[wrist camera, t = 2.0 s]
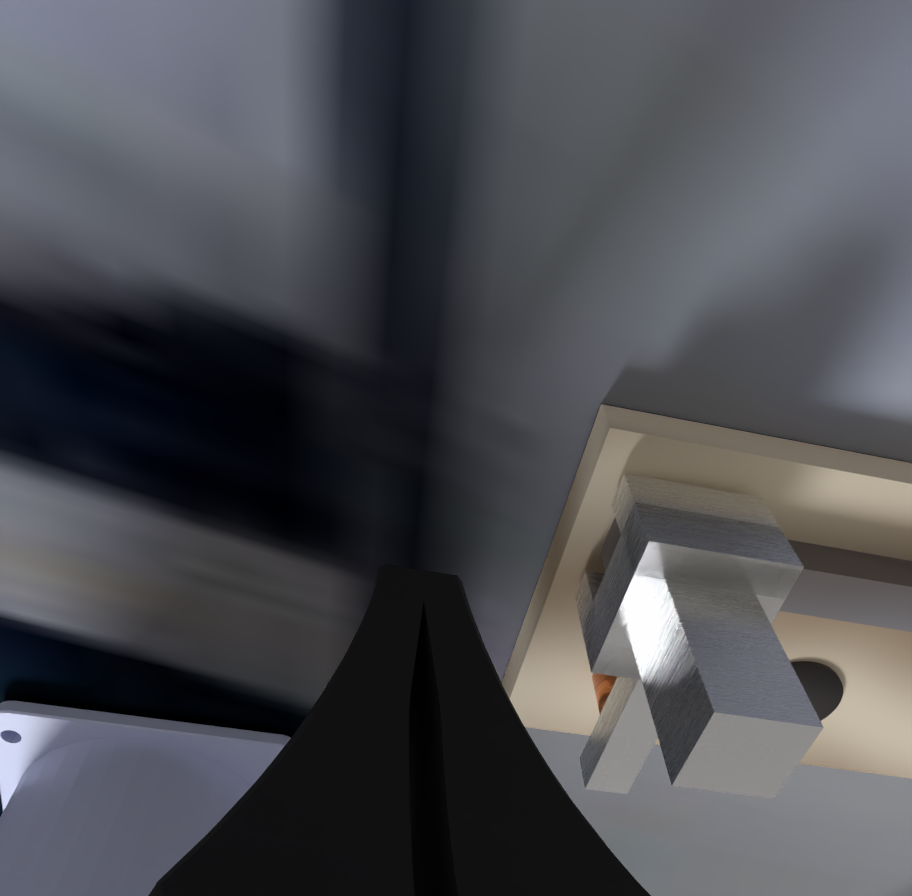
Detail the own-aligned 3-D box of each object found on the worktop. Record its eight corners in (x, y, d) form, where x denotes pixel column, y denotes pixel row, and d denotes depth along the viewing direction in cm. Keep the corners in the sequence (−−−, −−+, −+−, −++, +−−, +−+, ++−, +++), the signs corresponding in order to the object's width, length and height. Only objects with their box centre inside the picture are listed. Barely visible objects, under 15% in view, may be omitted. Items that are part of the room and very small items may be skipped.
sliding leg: (646, 720, 19) (707, 939, 15) (532, 704, 19) (560, 923, 15) (761, 497, 16) (884, 697, 12) (623, 473, 16) (696, 670, 11)
